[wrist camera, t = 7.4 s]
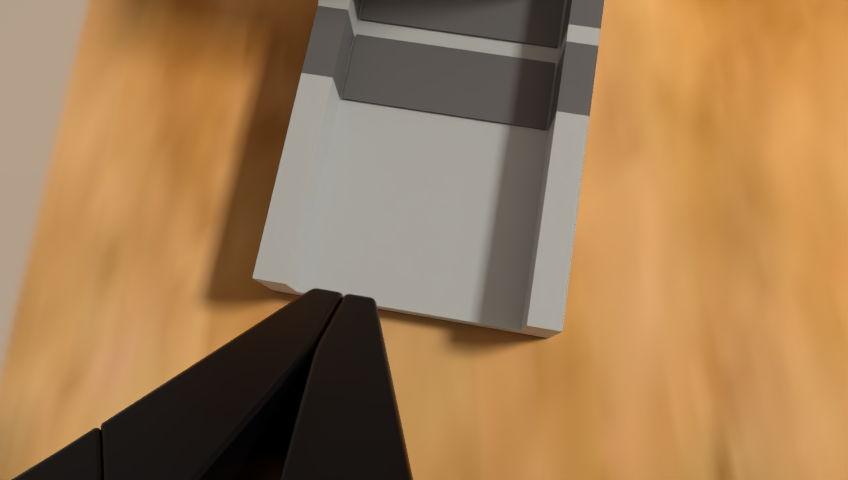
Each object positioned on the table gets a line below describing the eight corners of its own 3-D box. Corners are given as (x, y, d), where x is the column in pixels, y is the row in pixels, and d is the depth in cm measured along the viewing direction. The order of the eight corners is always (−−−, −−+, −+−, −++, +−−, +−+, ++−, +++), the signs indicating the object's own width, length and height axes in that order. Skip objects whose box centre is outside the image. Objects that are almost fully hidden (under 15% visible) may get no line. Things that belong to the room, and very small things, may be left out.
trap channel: (548, 338, 20) (562, 331, 18) (272, 290, 21) (252, 278, 19) (608, -117, 24) (625, -169, 22) (373, -147, 25) (366, -201, 22)
